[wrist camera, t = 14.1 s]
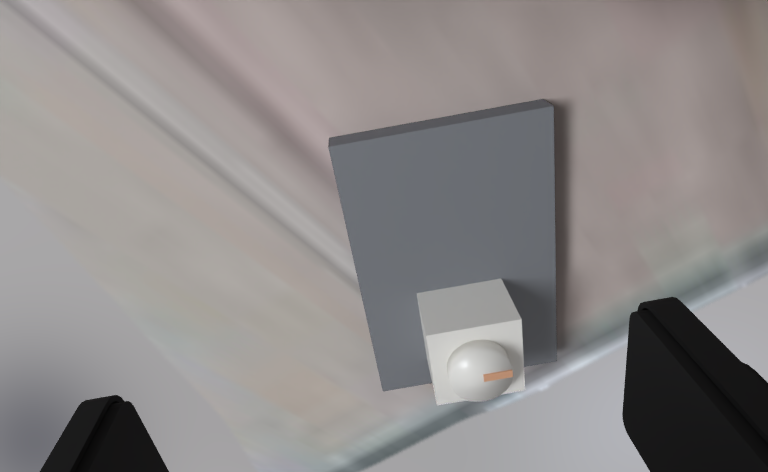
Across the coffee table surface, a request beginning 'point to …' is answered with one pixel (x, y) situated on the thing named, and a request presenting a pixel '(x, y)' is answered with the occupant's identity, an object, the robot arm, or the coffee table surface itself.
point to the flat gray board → (451, 224)
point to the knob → (472, 342)
